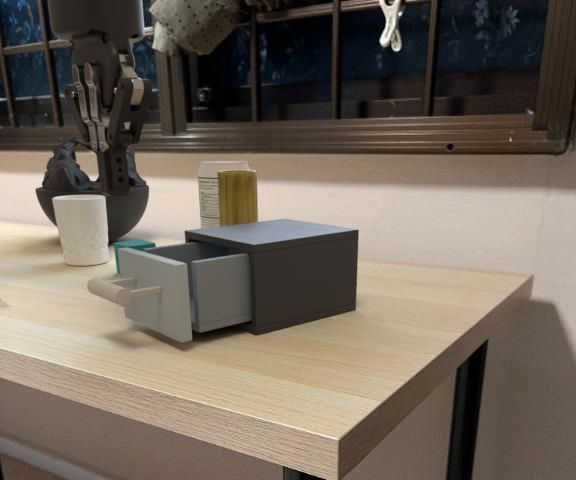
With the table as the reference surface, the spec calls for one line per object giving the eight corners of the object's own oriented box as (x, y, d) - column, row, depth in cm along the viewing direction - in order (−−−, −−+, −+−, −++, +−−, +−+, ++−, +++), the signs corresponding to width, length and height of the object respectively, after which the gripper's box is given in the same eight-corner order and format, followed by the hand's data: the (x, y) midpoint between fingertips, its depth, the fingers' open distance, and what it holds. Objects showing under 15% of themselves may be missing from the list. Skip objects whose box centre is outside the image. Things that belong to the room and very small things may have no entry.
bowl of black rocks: (154, 248, 108) (143, 134, 101) (35, 253, 105) (16, 135, 97) (153, 232, 126) (144, 134, 119) (52, 236, 123) (37, 135, 116)
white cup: (111, 256, 102) (104, 194, 98) (114, 265, 95) (106, 198, 91) (62, 259, 100) (52, 195, 96) (60, 268, 93) (50, 200, 89)
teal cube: (130, 277, 87) (127, 246, 85) (116, 272, 90) (113, 242, 88) (158, 273, 89) (155, 243, 88) (143, 268, 93) (140, 239, 91)
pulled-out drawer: (135, 354, 54) (126, 272, 51) (81, 326, 62) (71, 254, 59) (290, 316, 65) (290, 247, 62) (228, 296, 73) (225, 234, 70)
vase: (270, 275, 87) (269, 170, 82) (238, 283, 83) (234, 173, 78) (242, 269, 91) (239, 169, 86) (210, 276, 87) (204, 171, 82)
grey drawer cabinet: (256, 335, 62) (254, 244, 58) (189, 310, 71) (184, 230, 67) (356, 309, 71) (359, 229, 67) (285, 290, 79) (284, 218, 76)
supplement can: (198, 258, 100) (192, 161, 94) (247, 255, 102) (244, 160, 96) (207, 268, 93) (202, 163, 87) (260, 264, 95) (257, 162, 89)
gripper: (17, -21, 52) (48, 192, 58) (81, -53, 42) (109, 204, 49) (101, -9, 56) (120, 188, 63) (175, -35, 47) (189, 198, 54)
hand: (115, 195), depth 56 cm, fingers closed
